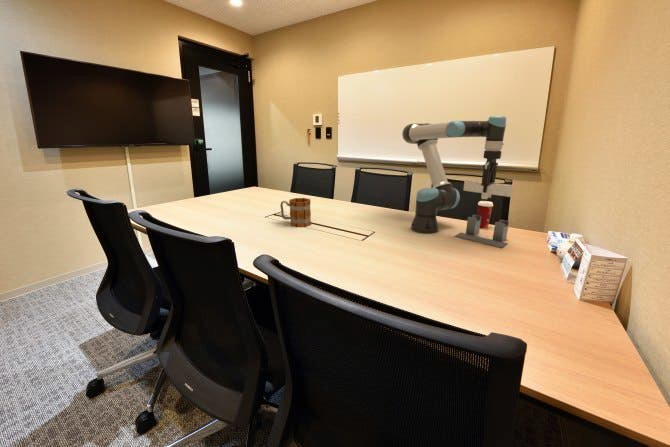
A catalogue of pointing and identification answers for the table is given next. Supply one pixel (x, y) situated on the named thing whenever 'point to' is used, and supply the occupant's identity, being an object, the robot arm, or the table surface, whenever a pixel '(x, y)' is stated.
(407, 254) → the table surface
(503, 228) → the post
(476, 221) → the post
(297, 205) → the mug
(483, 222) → the coffee cup
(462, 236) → the gray base plate
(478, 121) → the robot arm
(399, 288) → the table surface
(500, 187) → the rail
